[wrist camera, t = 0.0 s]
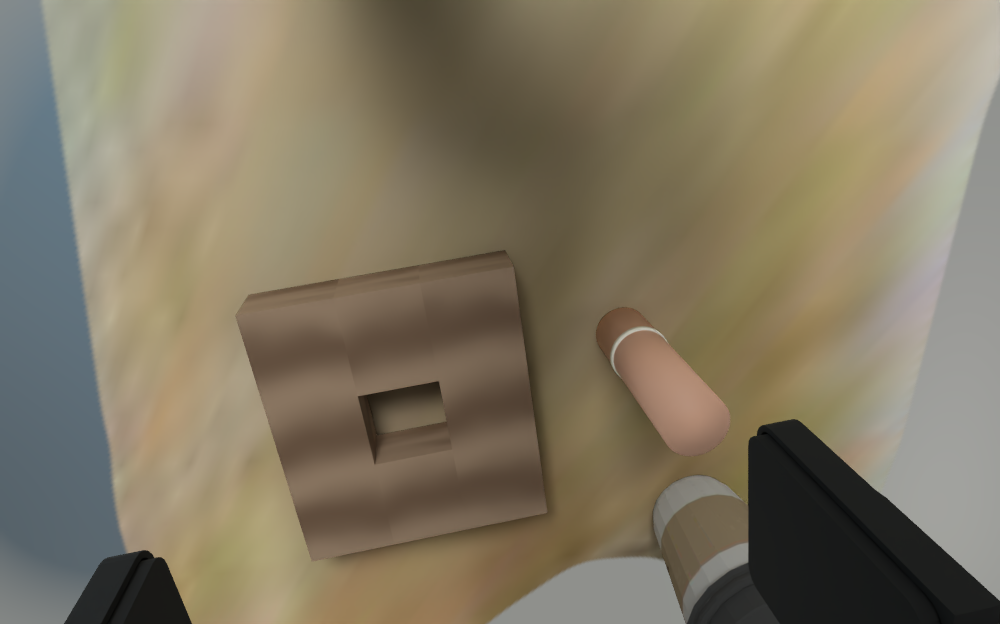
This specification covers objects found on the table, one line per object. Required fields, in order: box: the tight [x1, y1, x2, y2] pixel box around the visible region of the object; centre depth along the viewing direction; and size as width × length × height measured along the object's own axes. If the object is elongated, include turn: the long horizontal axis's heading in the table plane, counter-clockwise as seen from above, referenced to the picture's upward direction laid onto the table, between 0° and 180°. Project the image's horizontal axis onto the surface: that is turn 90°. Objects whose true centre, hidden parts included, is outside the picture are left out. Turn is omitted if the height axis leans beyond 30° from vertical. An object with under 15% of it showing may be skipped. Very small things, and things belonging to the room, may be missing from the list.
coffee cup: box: [653, 475, 780, 624], centre depth 51 cm, size 11×11×15 cm
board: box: [236, 250, 547, 561], centre depth 48 cm, size 20×18×4 cm
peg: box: [596, 308, 730, 456], centre depth 44 cm, size 4×4×14 cm
